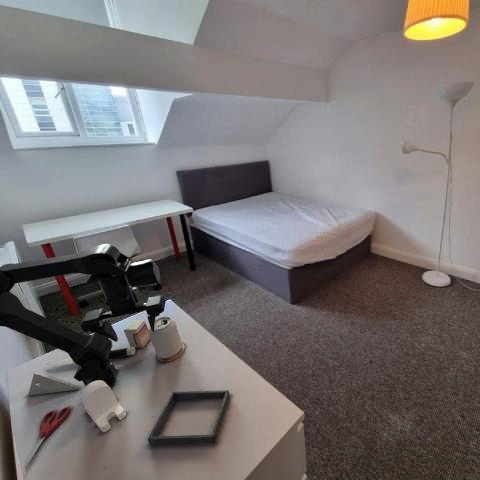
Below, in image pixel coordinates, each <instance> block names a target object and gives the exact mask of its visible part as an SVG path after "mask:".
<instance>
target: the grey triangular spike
mask: <svg viewBox="0 0 480 480" xmlns="http://www.w3.org/2000/svg"><path fill="white" fill-rule="evenodd" d="M77 390H80V387H77V386H75V385H71V384H69V383H66V382H63V381H60V380H58V379H54V378H52V377H48V376H45V375H42V374H40V373H36V372H34V373H33V377H32V379H31V383H30V386H29V390H28V394H27V395H28V396H34V395H35V396H37V395H45V394H53V393H60V392H69V391H77Z"/></svg>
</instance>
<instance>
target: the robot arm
mask: <svg viewBox="0 0 480 480" xmlns="http://www.w3.org/2000/svg"><path fill="white" fill-rule="evenodd" d="M118 263H119V265H117V264H118ZM72 274H82V275H86V276H89V277H88V279H87V280H86V283H87V284H90V283H96V282H98V284H99V287H100V289H101V291H102V293H103V296H104V298H105V301H104V304H105V306H108V308H109V309H110V311H107V310H106V309H105V308H98V309H94V310H89V311H87V313H86V314H85V316H84V317H83V319H82V321H81V323H80V328H81V330H82V332H83V333H88V332H89V333H91V334H83V333H79V332H77V331H75V330H73V329H71V328H69V327H67V326H65V325H62V324H60V323H58V322H56V321H55V320H52V319H49V318H48V317H45V316H44V315H41V314H40V313H37V312H34V311H33V310H31V309H29V308H26V307H25V306H24V304H23V303H22V302H21V300H20V298H19V297H18V296H17V295H15V294H14V293H12V292H11V290H12V289H13V288H14V286H15V285H16V284H20V283H21V284H22V283H27V282H32V281H38V280H43V279H50V278H55V277H61V276H64V275H65V276H66V275H72ZM159 283H161V272H160V268H159V266H158V265H157V263H155V262H154V259H153V258H150V259H145V260H142V261H137V262H134V260H133V258H132V257H131V258H130V257H129V256H127V255H126V254H124V253H123V252H121V251H120V250H119V249H118V248H117V247H116V246H115V245H112V244H111V243H102V244H99V245H95V246H92V247H89V248H86V249H84V250H82V251H79V252H77V253H72V254H68V255H60V256H54V257H49V258H48V257H47V258H42V259H34V260H29V261H23V262H17V263H13V262H12V263H5V264H2V265H1V266H0V327H5V328H7V329H10V330H12V331H15V332H17V333H20V334H22V335H24V336H26V337H29V338H31V339H32V340H33V339H34V340H36V341H38V342H40V343H44V344H46V345H48V346H51V347H52V348H55V349H57V350H59V351H62V352H65V353H67V355H68V356H69V358H71V359H72V360H73V362H74V363H73V364H75V365H77V368H76V371H75V373H74V376H73V379H75V381H77V382H82V383H83V386H85V387H86V386H87V385H88V384H90V383H92V382H94V381H98V380H102V381H104V382H105V383H106V384H107V385H108V386H109V387H110V388H112V387H113V386H114V383H115V380H116V378H117V375H118V368H116V367H115V365H114V363H113V362H111V360H110V359H108V357H109V354H110V351H111V350H113V349H112V348H113V342H115V343H117V342H118V341H119V338H118V334H117V333H116V330H115V329H114V327H113V325H112V323H111V320H113V319H117V318H118V319H119V318H122V317H126V316H129V315H133V314H136V313H141V312H144V311H145V312H146V314H147V316H146V318H147V321H148V324H149V325H150V328H151V330H152V332H154V330H155V319H157V317H159V316H160V315H161V314H163V313H164V312H165V308H166V298H165V296H163V294H159V295H155V296H151V297H148V298H147V300H146V302H144V303H141V304H137V303H139V301H140V299H139V298H141V293H140V290H139V288H142V287H146V286H150V285H151V286H152V285H155V284H159ZM85 387H84V388H85Z"/></svg>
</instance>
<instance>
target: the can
mask: <svg viewBox="0 0 480 480" xmlns="http://www.w3.org/2000/svg"><path fill="white" fill-rule="evenodd" d="M148 333H149V335H150V340H151V343H152V345H153V349H154V351H155V354H156V357H157V356H158V357H160V358H170V357H172V356H174V355H176V354H177V353H178V352H179V351H180V349H181V348H182V343H183V342H182V340H181V336H180V334H179V330H178V328H177V324H176V321H175V319H172V317H171V316H168V315H164V316H160V317H158V318H157V317H156V318H155V330H154V332H152V330H151V328H150V325H149V326H148Z"/></svg>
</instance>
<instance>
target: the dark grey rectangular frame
mask: <svg viewBox="0 0 480 480" xmlns="http://www.w3.org/2000/svg"><path fill="white" fill-rule="evenodd" d="M230 398H231V394H230V390H229V389H224V390H223V389H219V390H190V391H187V390H186V391H172V392H171V394H170V396H169V398H168V399H167V402H166V404H165V405H164V407H163V409H162V411H161V413H160V415H159V417H158V419H157V420H156V422H155V424H154V425H153V428H152V430H151V432H150V433H149V435H148V437H147V442H148V443H149V445H150V446H154V447H155V446H182V445H185V446H187V445H212V444H213V445H215V444H216V442H217V440H218V436H219V433H220V430H221V427H222V423H223V420H224V417H225V413H226V411H227V407H228V404H229V401H230ZM219 399H222V403H221V405H220V408H219V411H218V414H217V417H216V421H215V422H214V426H213V429H212V431H211V434H187V435H185V434H183V435H161V436H160V435H159V434H161V433H160V432H161V431H162V429H163V427H164V425H165V423H166V420H167V419H168V417H169V415H170V413H171V411H172V409H173V407H174V405H175V403H176V401H187V400H188V401H189V400H190V401H191V400H219Z"/></svg>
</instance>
